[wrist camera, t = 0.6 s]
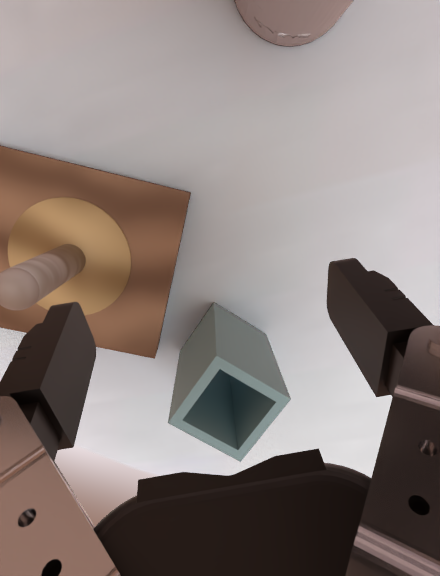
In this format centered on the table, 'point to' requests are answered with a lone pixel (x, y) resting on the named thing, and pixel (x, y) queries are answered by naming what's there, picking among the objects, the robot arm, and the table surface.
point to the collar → (227, 384)
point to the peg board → (87, 248)
